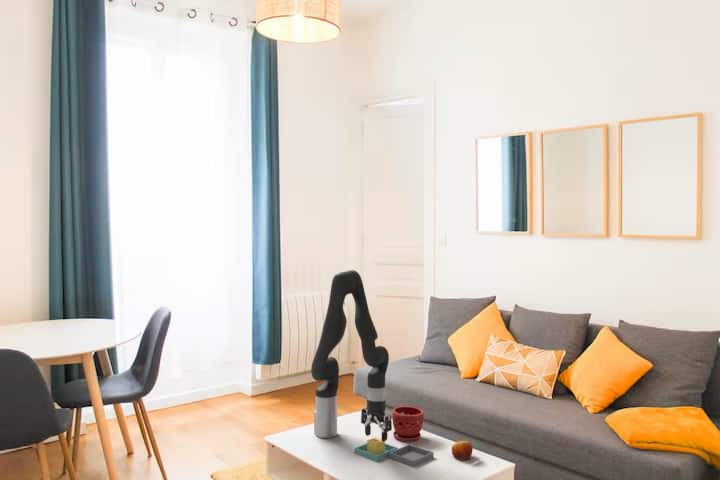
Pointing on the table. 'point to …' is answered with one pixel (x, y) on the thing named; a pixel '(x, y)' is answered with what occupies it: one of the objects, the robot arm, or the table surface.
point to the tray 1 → (363, 452)
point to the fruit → (462, 450)
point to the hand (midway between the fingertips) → (376, 438)
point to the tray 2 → (411, 455)
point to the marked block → (375, 446)
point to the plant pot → (407, 423)
